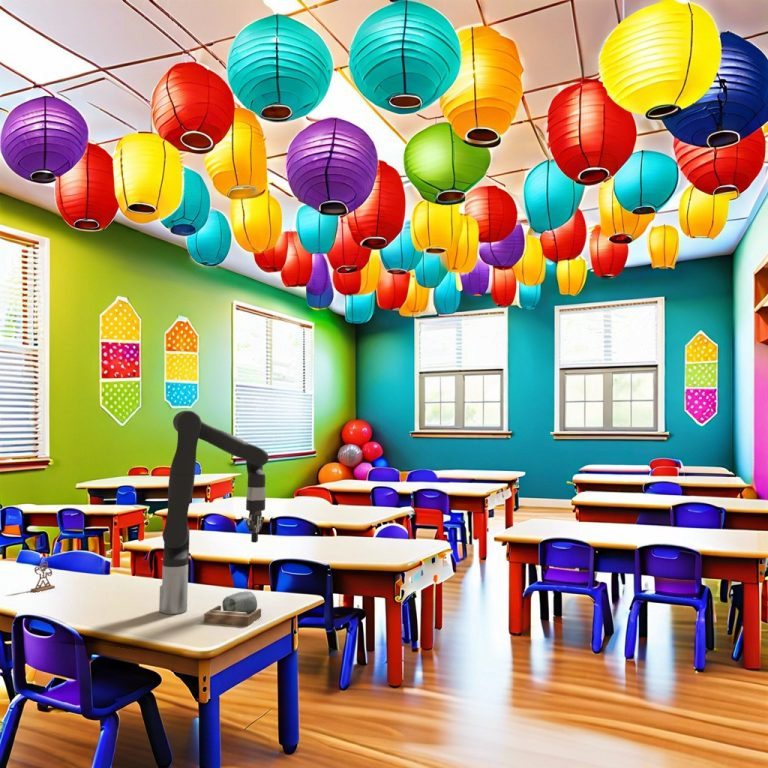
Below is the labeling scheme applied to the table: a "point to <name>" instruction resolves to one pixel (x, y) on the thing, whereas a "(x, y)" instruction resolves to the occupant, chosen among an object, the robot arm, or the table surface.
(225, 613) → the notched board
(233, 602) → the spool
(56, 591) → the table surface
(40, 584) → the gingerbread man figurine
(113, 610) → the table surface
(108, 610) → the table surface
